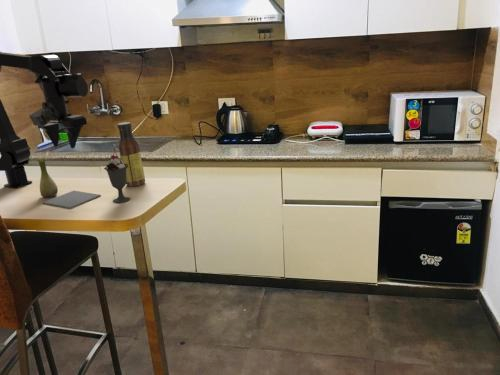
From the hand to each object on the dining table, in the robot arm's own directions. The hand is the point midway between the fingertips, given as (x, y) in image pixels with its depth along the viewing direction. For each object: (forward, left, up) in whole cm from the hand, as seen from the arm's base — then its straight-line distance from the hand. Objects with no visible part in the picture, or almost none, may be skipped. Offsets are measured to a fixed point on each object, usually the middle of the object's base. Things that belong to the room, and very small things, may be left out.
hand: (64, 147), depth 136 cm
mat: (+12, -10, -13) cm, 20 cm away
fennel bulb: (+2, -10, -13) cm, 17 cm away
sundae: (+27, -5, -13) cm, 30 cm away
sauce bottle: (+20, +8, -13) cm, 25 cm away
